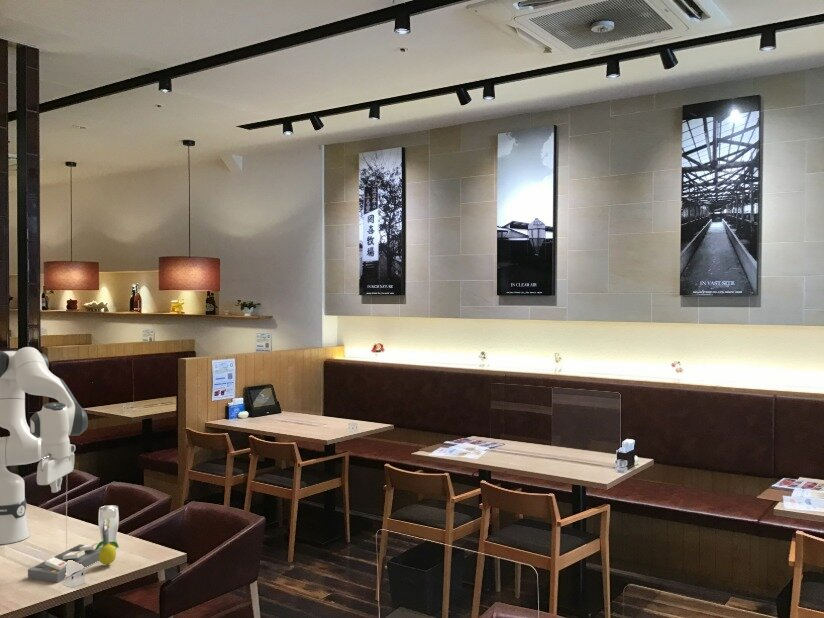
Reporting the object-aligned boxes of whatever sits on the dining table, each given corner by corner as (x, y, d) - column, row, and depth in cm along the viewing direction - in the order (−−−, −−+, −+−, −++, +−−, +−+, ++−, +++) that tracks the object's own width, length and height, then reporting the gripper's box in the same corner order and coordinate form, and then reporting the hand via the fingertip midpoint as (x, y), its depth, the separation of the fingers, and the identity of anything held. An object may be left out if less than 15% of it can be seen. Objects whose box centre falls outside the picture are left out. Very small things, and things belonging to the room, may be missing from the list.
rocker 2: (63, 559, 253) (62, 555, 253) (71, 555, 256) (70, 552, 256) (77, 557, 251) (76, 553, 251) (85, 553, 255) (84, 550, 255)
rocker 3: (80, 551, 261) (79, 547, 261) (87, 547, 264) (86, 544, 264) (93, 549, 259) (93, 545, 259) (100, 545, 262) (100, 542, 262)
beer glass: (111, 552, 268) (111, 511, 268) (94, 550, 270) (94, 510, 269) (123, 545, 275) (122, 505, 275) (106, 543, 277) (105, 504, 276)
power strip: (27, 578, 245) (27, 568, 245) (79, 552, 268) (79, 543, 268) (57, 582, 241) (57, 573, 241) (107, 556, 264) (107, 547, 264)
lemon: (95, 569, 252) (94, 541, 252) (98, 563, 258) (98, 535, 258) (115, 568, 254) (115, 539, 253) (118, 561, 259) (118, 533, 259)
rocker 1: (44, 564, 245) (45, 560, 245) (53, 560, 249) (53, 556, 249) (59, 570, 244) (60, 566, 244) (67, 566, 247) (68, 562, 247)
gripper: (50, 457, 240) (51, 500, 241) (77, 444, 261) (78, 483, 261) (31, 458, 240) (31, 500, 241) (59, 445, 261) (60, 483, 261)
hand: (56, 491), depth 251 cm, fingers closed
